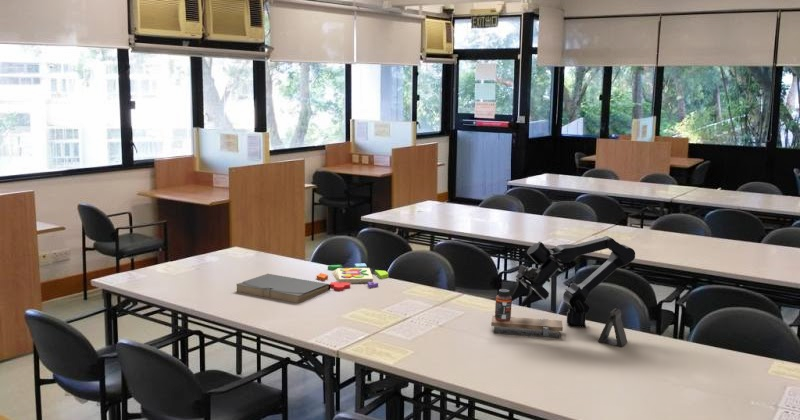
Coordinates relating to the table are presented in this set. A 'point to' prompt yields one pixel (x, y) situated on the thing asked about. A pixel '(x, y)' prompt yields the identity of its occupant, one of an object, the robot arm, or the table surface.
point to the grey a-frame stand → (618, 327)
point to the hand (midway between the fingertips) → (516, 302)
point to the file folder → (282, 287)
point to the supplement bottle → (503, 305)
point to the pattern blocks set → (351, 276)
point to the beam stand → (527, 332)
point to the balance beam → (529, 323)
